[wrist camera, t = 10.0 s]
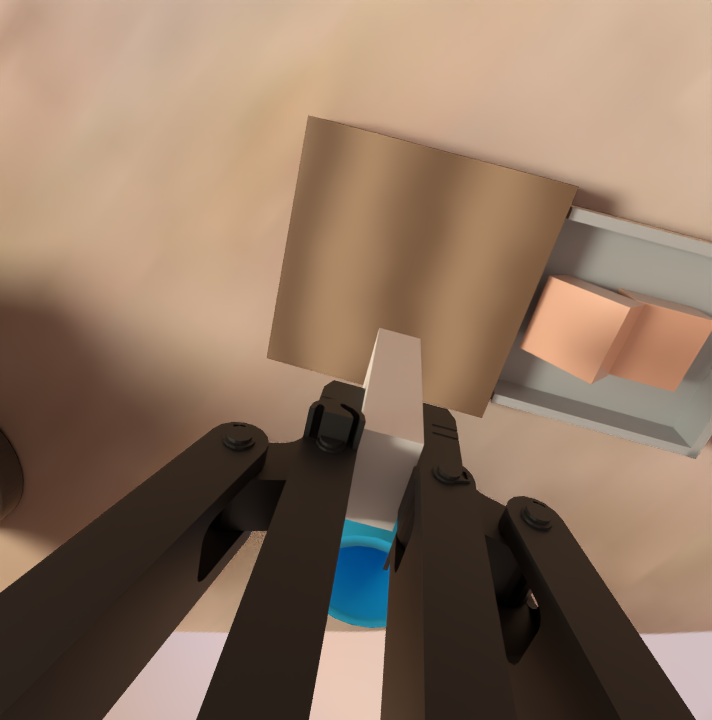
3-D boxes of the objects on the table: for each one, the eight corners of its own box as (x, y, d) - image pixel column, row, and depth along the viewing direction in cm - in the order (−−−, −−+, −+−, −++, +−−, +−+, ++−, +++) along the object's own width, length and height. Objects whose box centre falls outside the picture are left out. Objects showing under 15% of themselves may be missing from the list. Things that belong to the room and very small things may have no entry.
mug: (308, 473, 38) (279, 552, 31) (403, 443, 36) (397, 521, 28) (371, 578, 42) (359, 672, 34) (460, 558, 39) (468, 653, 32)
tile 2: (537, 342, 30) (519, 347, 28) (567, 274, 28) (549, 275, 27) (607, 376, 28) (591, 384, 26) (645, 304, 26) (630, 308, 24)
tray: (485, 380, 32) (491, 401, 30) (558, 201, 27) (573, 207, 25) (673, 432, 32) (695, 458, 29) (782, 260, 27) (822, 273, 24)
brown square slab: (282, 337, 33) (266, 358, 30) (322, 118, 27) (308, 115, 24) (476, 391, 33) (481, 418, 30) (560, 182, 27) (578, 186, 24)
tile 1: (674, 391, 28) (656, 373, 30) (717, 321, 26) (693, 307, 28) (598, 371, 28) (586, 354, 30) (635, 300, 26) (619, 287, 28)
